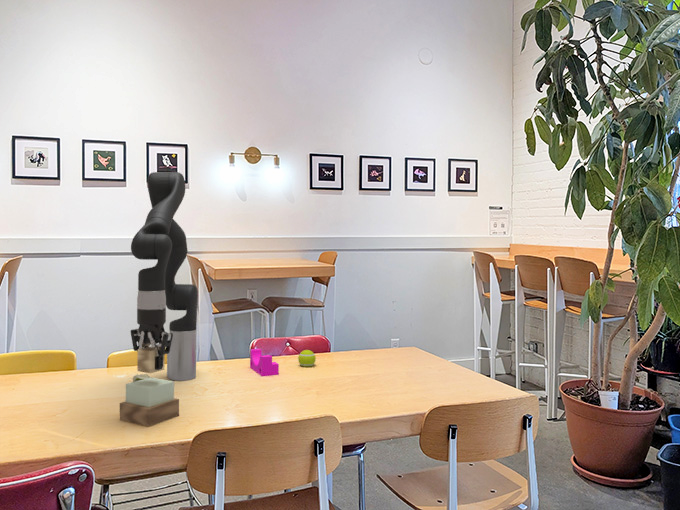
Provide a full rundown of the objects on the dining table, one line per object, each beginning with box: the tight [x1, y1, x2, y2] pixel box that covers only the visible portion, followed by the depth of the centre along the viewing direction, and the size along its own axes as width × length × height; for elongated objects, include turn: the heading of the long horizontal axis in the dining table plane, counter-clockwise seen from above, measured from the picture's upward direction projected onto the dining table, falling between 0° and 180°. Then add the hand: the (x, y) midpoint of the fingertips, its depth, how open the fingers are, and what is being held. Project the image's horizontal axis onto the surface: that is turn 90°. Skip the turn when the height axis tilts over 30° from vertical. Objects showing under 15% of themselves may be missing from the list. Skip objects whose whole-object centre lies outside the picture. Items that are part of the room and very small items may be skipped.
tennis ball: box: [297, 349, 316, 368], centre depth 223 cm, size 7×7×7 cm
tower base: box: [119, 397, 180, 428], centre depth 159 cm, size 11×11×5 cm
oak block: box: [136, 345, 166, 374], centre depth 158 cm, size 5×5×6 cm
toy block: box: [249, 348, 280, 377], centre depth 214 cm, size 15×6×8 cm, turn 25°
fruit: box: [132, 373, 151, 382], centre depth 177 cm, size 9×9×8 cm
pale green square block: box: [125, 376, 175, 407], centre depth 159 cm, size 9×9×5 cm
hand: (151, 367), depth 158 cm, fingers closed on oak block, 5 cm apart
